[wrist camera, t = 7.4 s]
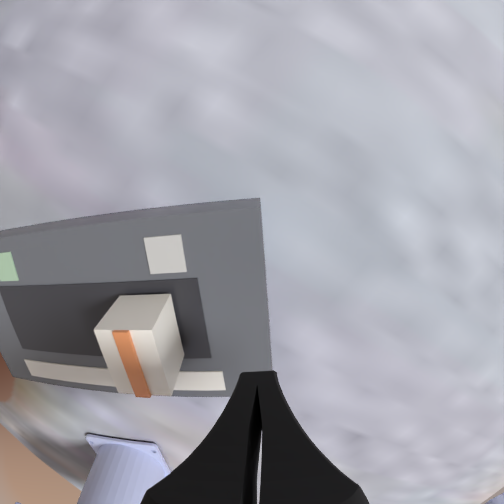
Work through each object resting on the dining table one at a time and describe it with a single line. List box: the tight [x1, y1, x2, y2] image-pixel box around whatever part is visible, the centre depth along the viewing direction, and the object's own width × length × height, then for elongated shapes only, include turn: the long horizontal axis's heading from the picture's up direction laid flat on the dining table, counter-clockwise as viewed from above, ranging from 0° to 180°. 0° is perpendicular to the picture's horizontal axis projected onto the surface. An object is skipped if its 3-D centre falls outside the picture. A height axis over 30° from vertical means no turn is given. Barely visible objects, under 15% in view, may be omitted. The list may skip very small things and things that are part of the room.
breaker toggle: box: [94, 294, 184, 398], centre depth 16 cm, size 4×3×4 cm
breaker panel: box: [0, 198, 272, 397], centre depth 19 cm, size 12×22×3 cm, turn 95°
